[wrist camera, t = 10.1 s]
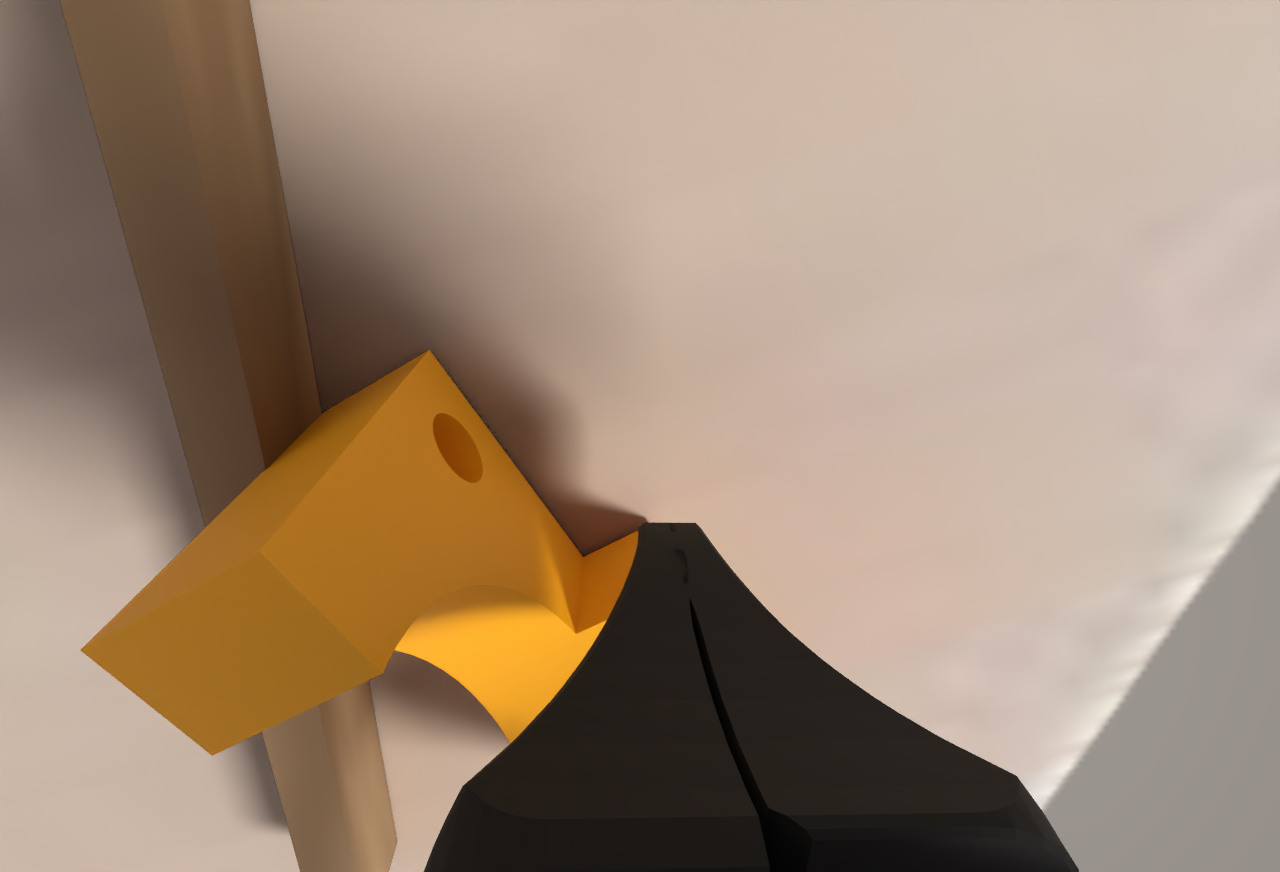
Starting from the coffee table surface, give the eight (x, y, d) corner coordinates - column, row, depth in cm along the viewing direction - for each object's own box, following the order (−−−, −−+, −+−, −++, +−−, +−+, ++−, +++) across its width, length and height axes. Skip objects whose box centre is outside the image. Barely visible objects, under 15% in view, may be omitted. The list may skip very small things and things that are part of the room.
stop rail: (353, 843, 18) (319, 939, 16) (124, -199, 9) (-24, -303, 7) (397, 842, 18) (369, 938, 16) (215, -193, 9) (96, -292, 7)
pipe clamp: (775, 708, 17) (855, 1022, 11) (627, 768, 18) (628, 1088, 12) (506, 304, 12) (397, 475, 6) (323, 412, 13) (80, 650, 7)
